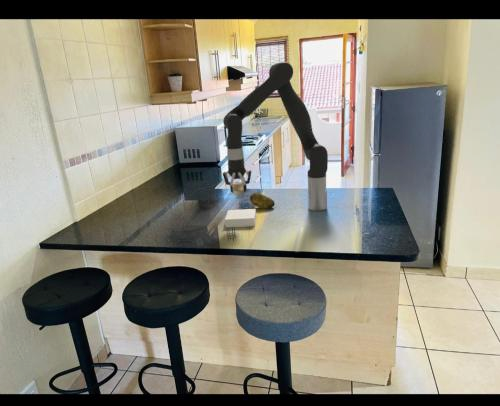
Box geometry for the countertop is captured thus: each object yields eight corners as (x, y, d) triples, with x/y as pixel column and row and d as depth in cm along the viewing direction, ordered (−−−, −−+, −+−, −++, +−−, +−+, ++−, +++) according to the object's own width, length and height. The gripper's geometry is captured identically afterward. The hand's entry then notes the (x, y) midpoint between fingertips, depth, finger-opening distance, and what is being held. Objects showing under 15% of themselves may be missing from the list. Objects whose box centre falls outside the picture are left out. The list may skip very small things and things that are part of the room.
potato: (267, 212, 195) (266, 197, 193) (248, 208, 203) (246, 194, 201) (276, 207, 202) (275, 192, 199) (257, 203, 209) (256, 190, 207)
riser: (256, 216, 191) (255, 208, 189) (254, 226, 178) (254, 218, 177) (228, 217, 192) (228, 210, 191) (225, 227, 180) (224, 219, 178)
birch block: (244, 191, 183) (243, 181, 181) (243, 194, 178) (242, 184, 176) (234, 192, 183) (233, 182, 181) (233, 195, 178) (232, 185, 177)
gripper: (251, 155, 178) (254, 189, 183) (221, 156, 179) (225, 190, 185) (250, 158, 171) (253, 194, 176) (219, 160, 172) (223, 195, 177)
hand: (238, 192), depth 180 cm, fingers closed on birch block, 5 cm apart
